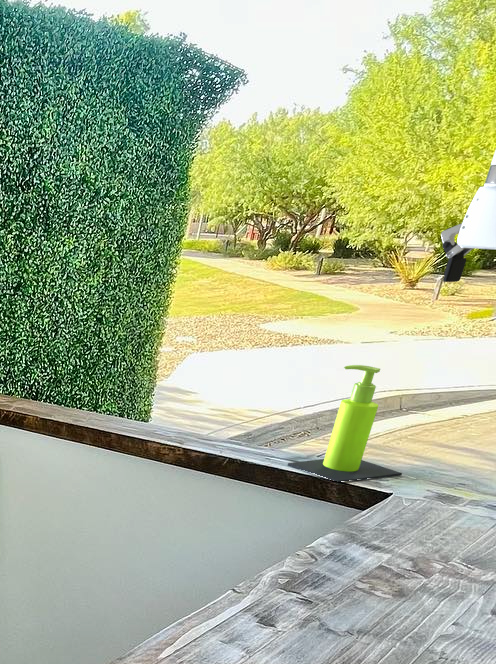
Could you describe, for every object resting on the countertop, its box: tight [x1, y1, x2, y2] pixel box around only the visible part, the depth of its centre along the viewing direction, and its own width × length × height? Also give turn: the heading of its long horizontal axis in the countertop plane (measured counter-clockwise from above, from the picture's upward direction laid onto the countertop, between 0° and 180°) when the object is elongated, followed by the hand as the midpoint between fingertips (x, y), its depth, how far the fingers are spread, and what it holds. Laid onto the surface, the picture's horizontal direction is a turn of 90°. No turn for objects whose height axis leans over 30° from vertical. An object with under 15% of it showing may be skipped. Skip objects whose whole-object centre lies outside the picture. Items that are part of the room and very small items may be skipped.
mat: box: [287, 458, 403, 482], centre depth 152 cm, size 16×11×1 cm
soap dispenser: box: [323, 364, 381, 472], centre depth 149 cm, size 6×7×20 cm
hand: (480, 284), depth 133 cm, fingers open, 9 cm apart
